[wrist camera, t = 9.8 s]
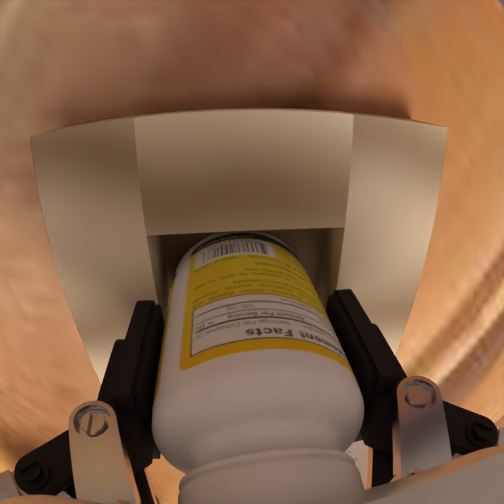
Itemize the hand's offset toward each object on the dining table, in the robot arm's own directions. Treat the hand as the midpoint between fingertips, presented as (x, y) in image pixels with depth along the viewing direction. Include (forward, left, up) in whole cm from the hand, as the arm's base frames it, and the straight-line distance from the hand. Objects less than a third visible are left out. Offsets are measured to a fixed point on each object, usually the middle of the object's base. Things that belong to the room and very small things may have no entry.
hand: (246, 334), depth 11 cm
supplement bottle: (0, 0, -3) cm, 3 cm away
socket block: (0, 0, -4) cm, 4 cm away
